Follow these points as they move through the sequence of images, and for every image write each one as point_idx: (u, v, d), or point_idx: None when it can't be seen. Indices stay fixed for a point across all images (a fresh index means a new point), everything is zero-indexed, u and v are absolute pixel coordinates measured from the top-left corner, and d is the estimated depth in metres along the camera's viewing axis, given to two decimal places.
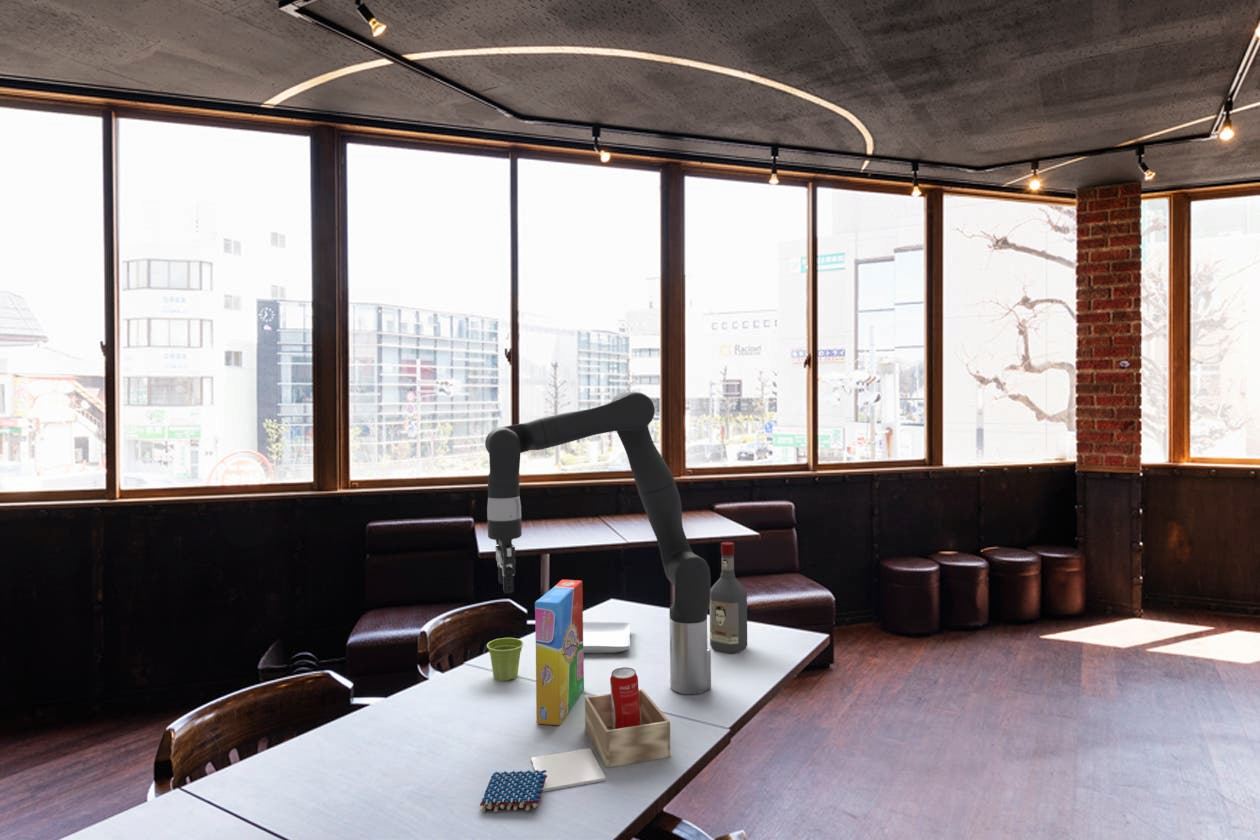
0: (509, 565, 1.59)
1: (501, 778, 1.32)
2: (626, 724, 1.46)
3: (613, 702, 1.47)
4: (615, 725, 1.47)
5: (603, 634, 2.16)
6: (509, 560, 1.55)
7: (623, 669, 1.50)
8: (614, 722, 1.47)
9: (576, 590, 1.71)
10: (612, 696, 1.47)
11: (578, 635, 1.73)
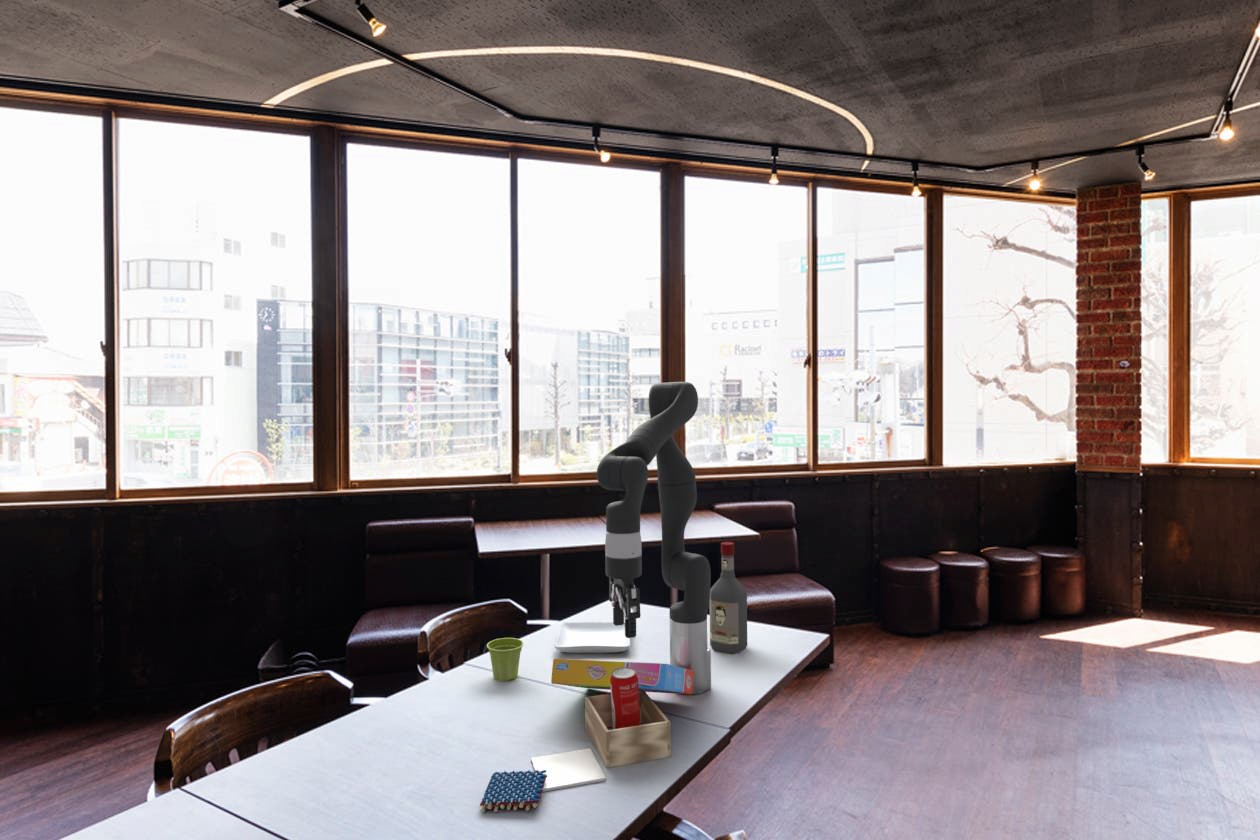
0: (631, 607, 1.45)
1: (501, 778, 1.32)
2: (626, 724, 1.46)
3: (613, 702, 1.47)
4: (615, 725, 1.47)
5: (603, 634, 2.16)
6: (634, 602, 1.42)
7: (623, 669, 1.50)
8: (614, 722, 1.47)
9: None
10: (612, 696, 1.47)
11: None
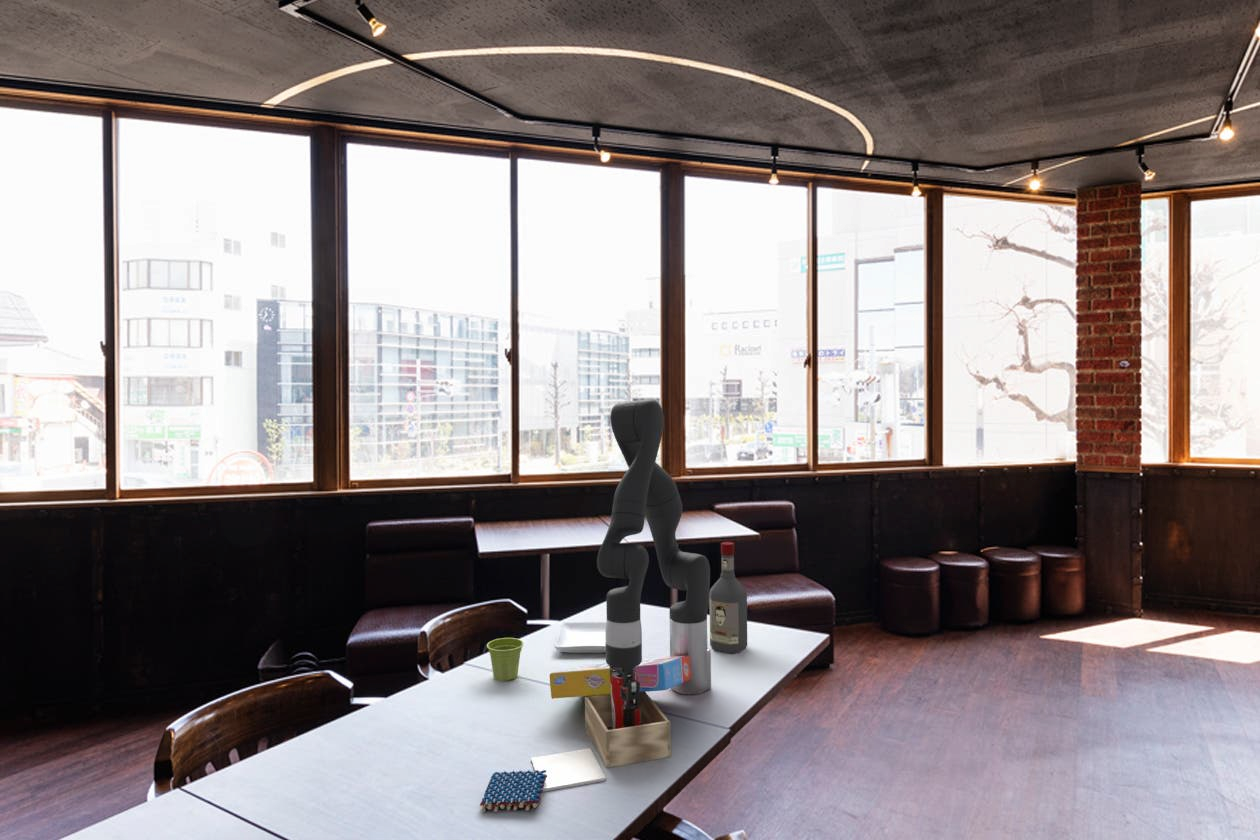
0: None
1: (501, 778, 1.32)
2: None
3: (613, 702, 1.47)
4: (615, 725, 1.47)
5: (603, 634, 2.16)
6: (633, 696, 1.42)
7: None
8: (614, 722, 1.47)
9: None
10: (612, 696, 1.47)
11: None
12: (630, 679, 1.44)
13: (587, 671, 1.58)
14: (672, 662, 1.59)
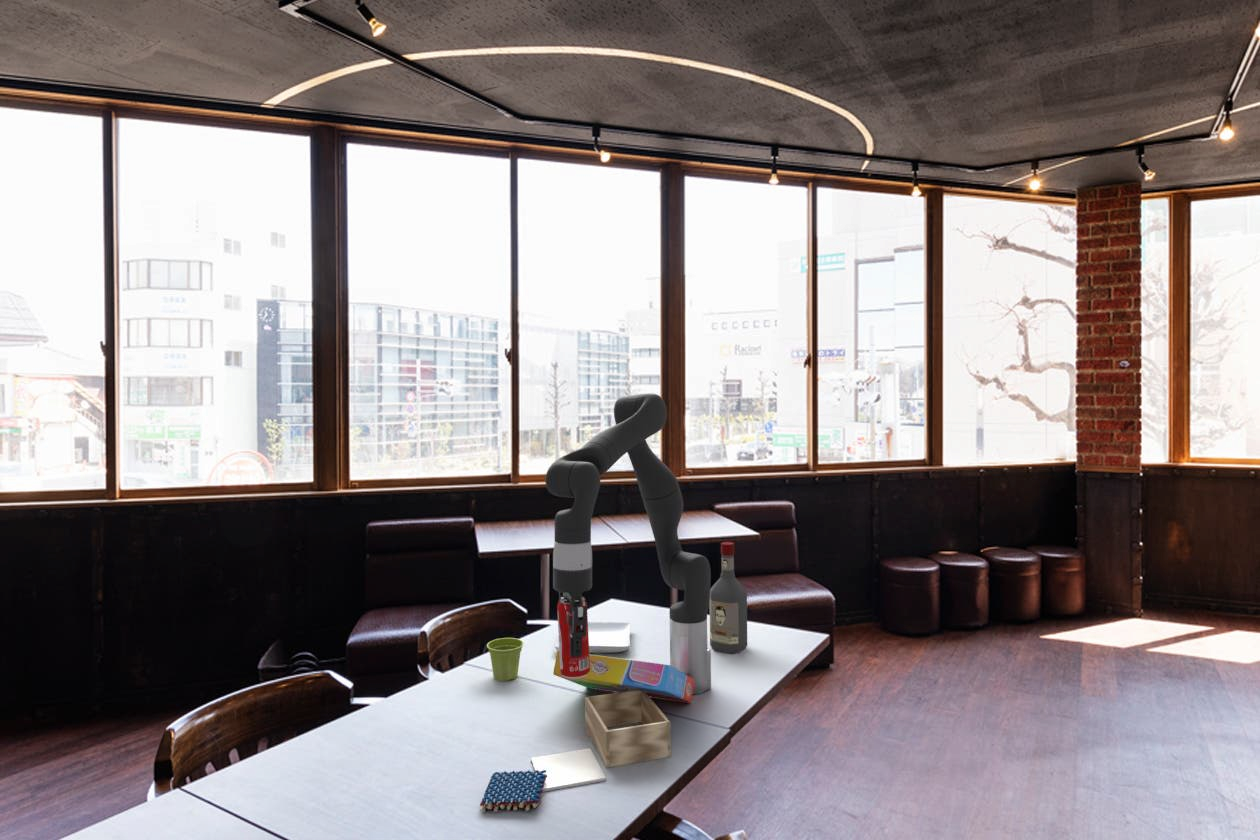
0: None
1: (501, 778, 1.32)
2: None
3: (560, 630, 1.37)
4: (561, 654, 1.37)
5: (603, 634, 2.16)
6: (580, 621, 1.33)
7: None
8: (561, 652, 1.38)
9: (680, 699, 1.64)
10: (559, 624, 1.38)
11: None
12: (577, 604, 1.34)
13: (594, 656, 1.60)
14: (678, 671, 1.59)
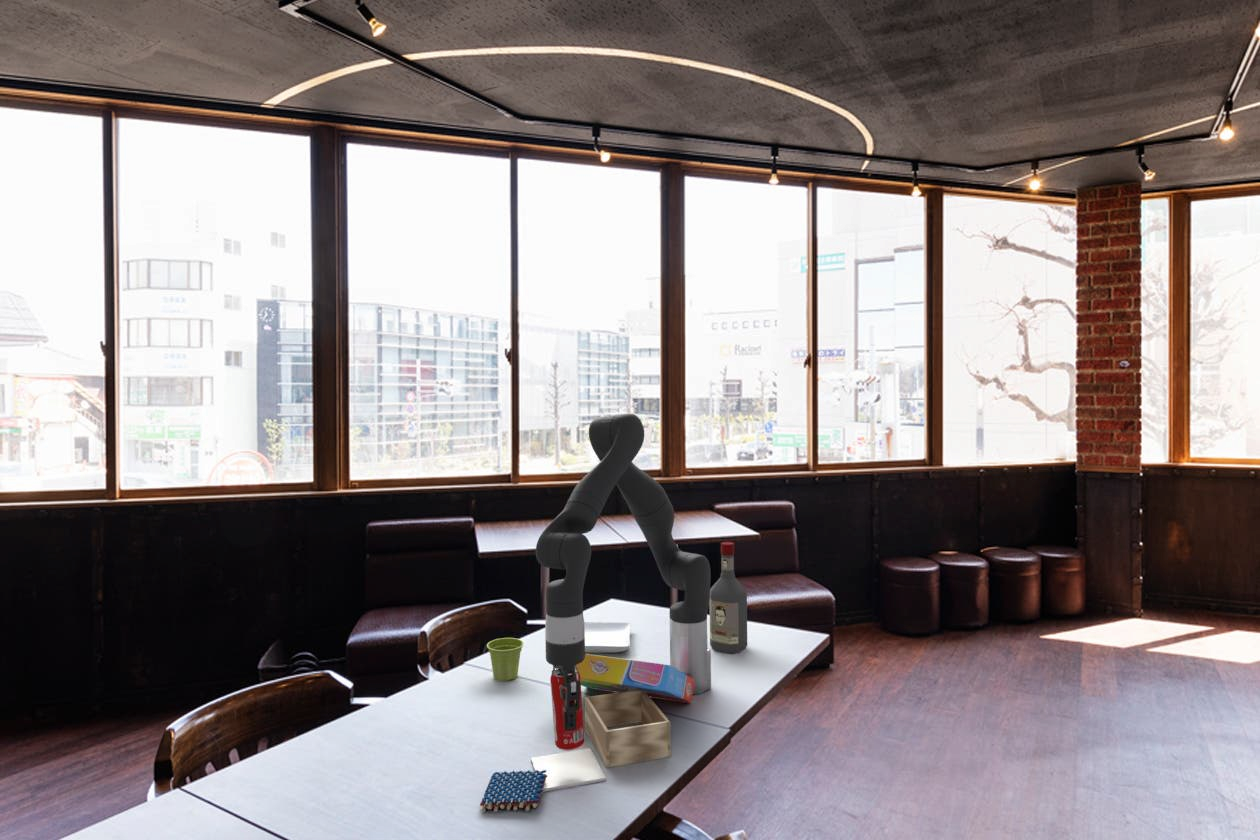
0: None
1: (501, 778, 1.32)
2: None
3: (553, 702, 1.36)
4: (556, 727, 1.37)
5: (603, 634, 2.16)
6: (573, 697, 1.32)
7: None
8: (555, 724, 1.37)
9: (680, 699, 1.64)
10: (552, 696, 1.37)
11: None
12: (570, 678, 1.33)
13: (594, 656, 1.60)
14: (678, 671, 1.59)
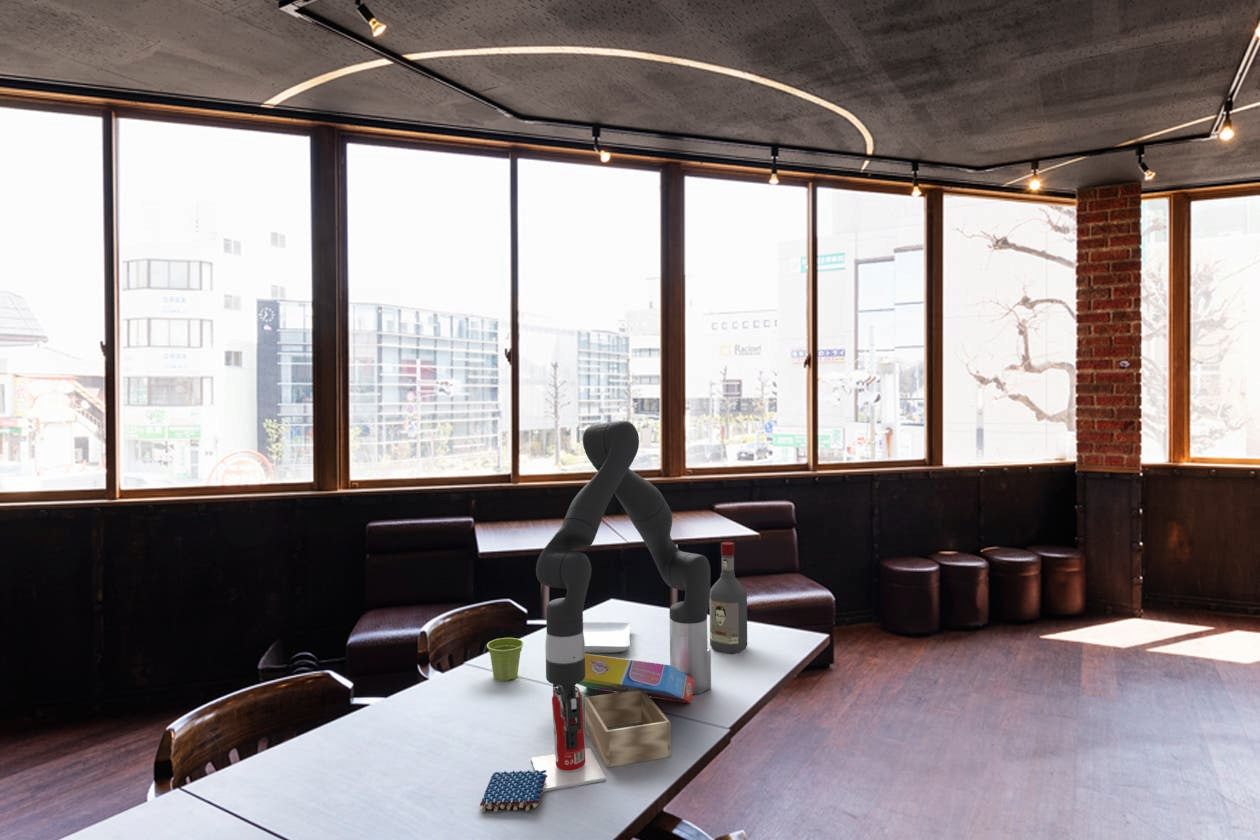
0: None
1: (501, 778, 1.32)
2: None
3: (554, 723, 1.37)
4: (557, 747, 1.37)
5: (603, 634, 2.16)
6: (574, 714, 1.31)
7: None
8: (556, 744, 1.37)
9: (680, 699, 1.64)
10: (553, 716, 1.37)
11: None
12: (570, 696, 1.33)
13: (594, 656, 1.60)
14: (678, 671, 1.59)
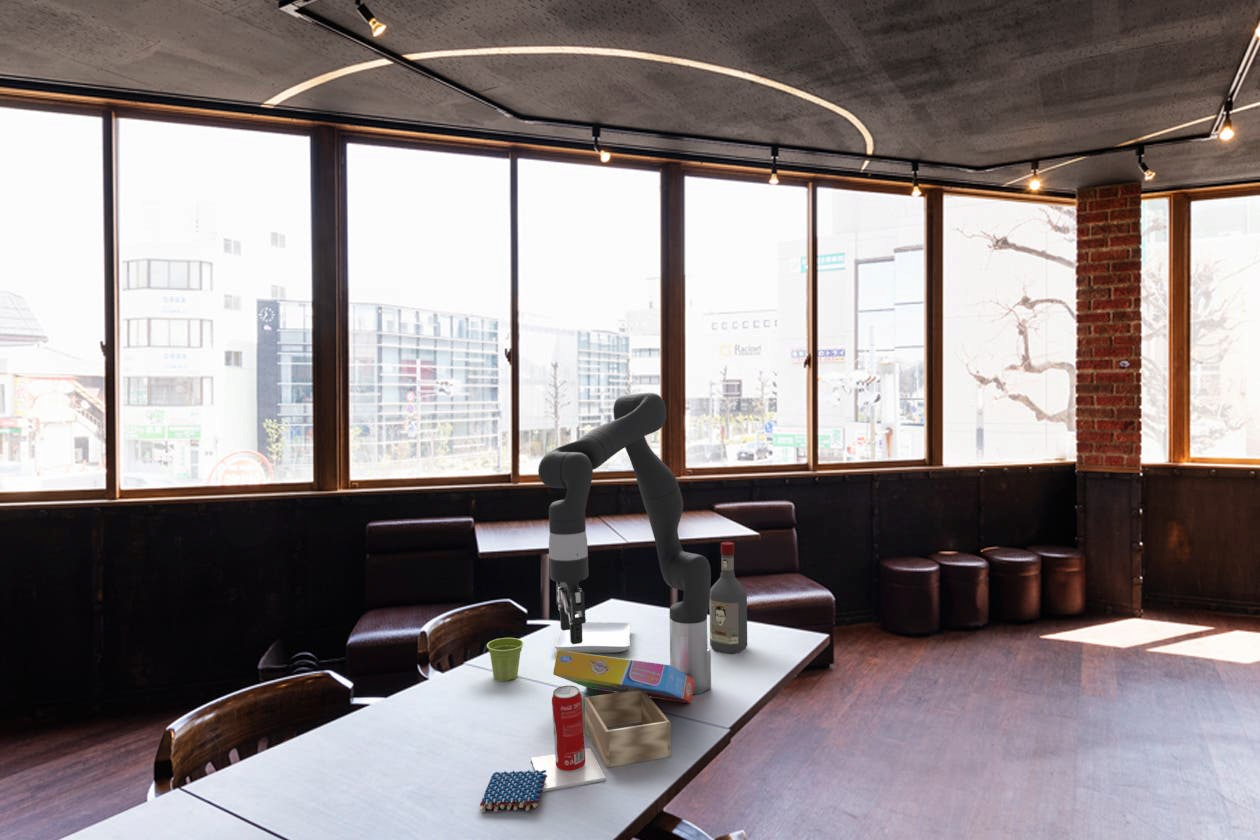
0: (576, 611, 1.37)
1: (501, 778, 1.32)
2: (567, 747, 1.36)
3: (554, 723, 1.37)
4: (557, 748, 1.37)
5: (603, 634, 2.16)
6: (578, 607, 1.34)
7: (566, 687, 1.39)
8: (556, 745, 1.37)
9: (680, 699, 1.64)
10: (553, 717, 1.37)
11: None
12: (574, 591, 1.35)
13: (594, 656, 1.60)
14: (678, 671, 1.59)
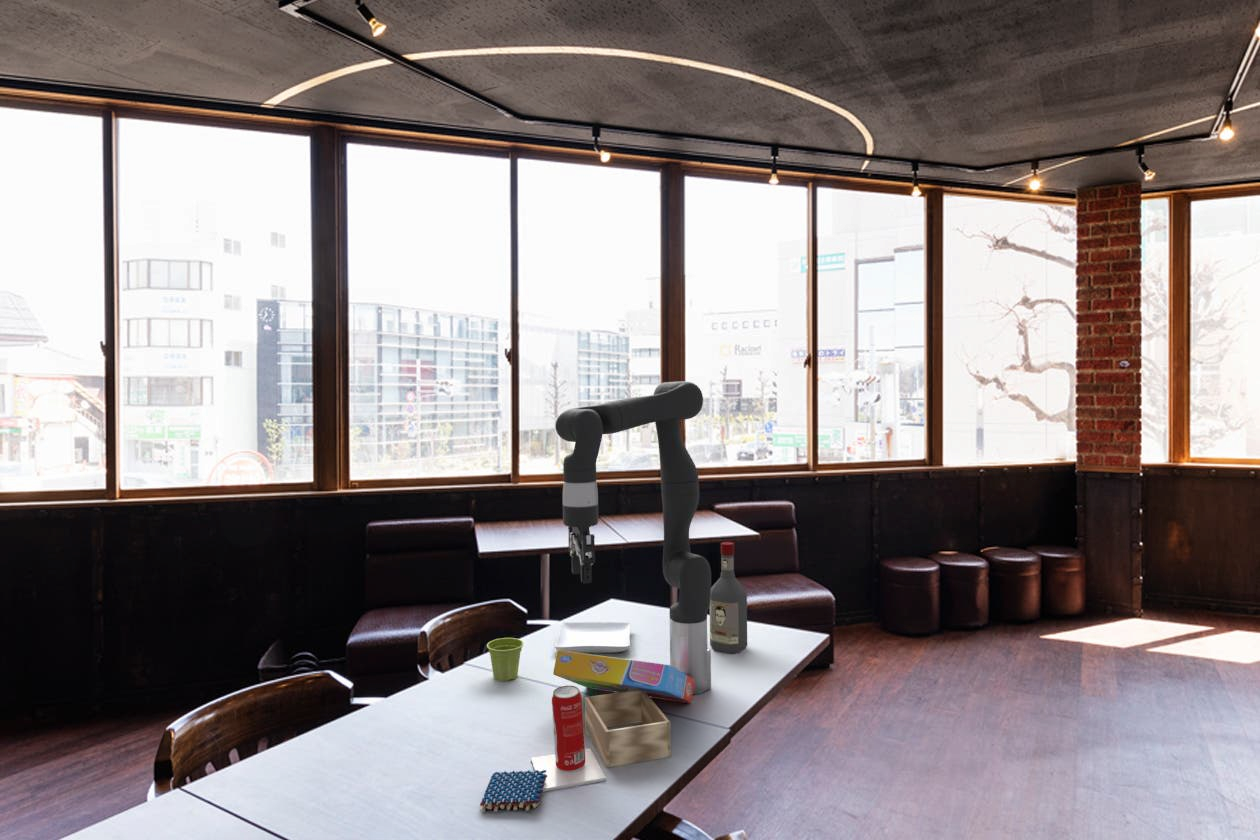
0: (587, 554, 1.50)
1: (501, 778, 1.32)
2: (567, 747, 1.36)
3: (554, 723, 1.37)
4: (557, 748, 1.37)
5: (603, 634, 2.16)
6: (589, 548, 1.47)
7: (566, 687, 1.39)
8: (556, 745, 1.37)
9: (680, 699, 1.64)
10: (553, 717, 1.37)
11: None
12: (585, 534, 1.49)
13: (594, 656, 1.60)
14: (678, 671, 1.59)
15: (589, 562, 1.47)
